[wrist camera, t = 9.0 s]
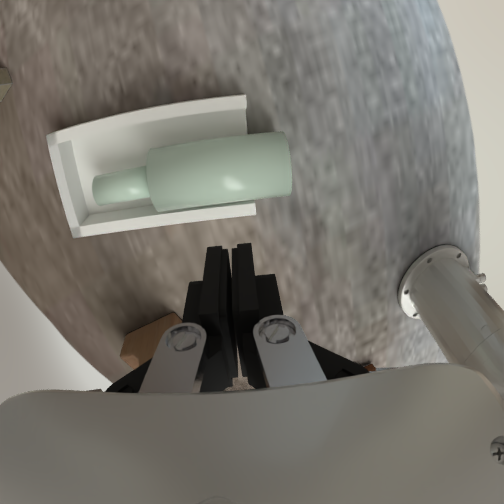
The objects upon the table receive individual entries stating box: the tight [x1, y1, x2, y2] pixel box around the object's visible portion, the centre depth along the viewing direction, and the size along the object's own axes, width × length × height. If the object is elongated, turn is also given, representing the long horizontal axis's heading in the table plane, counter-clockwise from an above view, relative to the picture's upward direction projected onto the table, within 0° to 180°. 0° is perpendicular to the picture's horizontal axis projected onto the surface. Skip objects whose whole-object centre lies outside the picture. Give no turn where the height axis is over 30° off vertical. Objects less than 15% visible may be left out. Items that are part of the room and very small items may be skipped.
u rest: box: [46, 94, 256, 238], centre depth 29 cm, size 20×11×3 cm, turn 95°
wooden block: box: [120, 313, 182, 369], centre depth 34 cm, size 9×4×18 cm, turn 119°
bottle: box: [92, 131, 292, 212], centre depth 28 cm, size 6×6×18 cm
